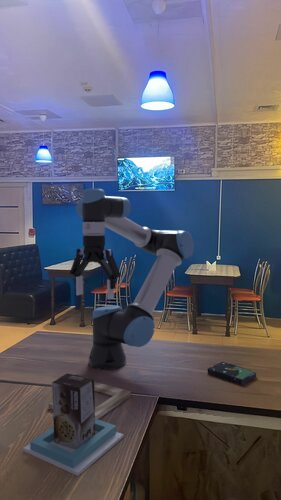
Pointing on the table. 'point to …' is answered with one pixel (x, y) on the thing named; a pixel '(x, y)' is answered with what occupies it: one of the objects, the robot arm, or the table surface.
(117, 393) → the birch frame
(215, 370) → the disk drive
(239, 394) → the table surface
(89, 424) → the coffee box
